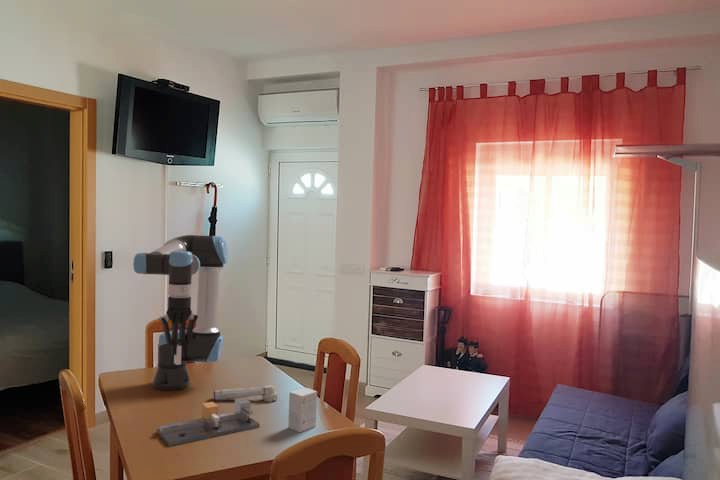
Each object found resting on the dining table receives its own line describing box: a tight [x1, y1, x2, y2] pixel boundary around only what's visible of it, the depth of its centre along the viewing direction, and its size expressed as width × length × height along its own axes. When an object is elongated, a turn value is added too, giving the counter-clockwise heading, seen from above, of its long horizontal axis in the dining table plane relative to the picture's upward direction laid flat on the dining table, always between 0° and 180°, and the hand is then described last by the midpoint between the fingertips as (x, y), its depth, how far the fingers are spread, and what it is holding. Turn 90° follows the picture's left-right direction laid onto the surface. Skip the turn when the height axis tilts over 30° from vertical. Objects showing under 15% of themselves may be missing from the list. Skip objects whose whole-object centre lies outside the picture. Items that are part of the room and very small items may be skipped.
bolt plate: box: [155, 397, 261, 447], centre depth 193 cm, size 13×32×7 cm, turn 127°
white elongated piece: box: [213, 384, 279, 403], centre depth 225 cm, size 5×7×25 cm
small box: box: [287, 387, 318, 433], centre depth 199 cm, size 8×6×13 cm
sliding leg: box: [200, 401, 220, 427], centre depth 195 cm, size 9×4×6 cm, turn 37°
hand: (177, 363), depth 193 cm, fingers closed
